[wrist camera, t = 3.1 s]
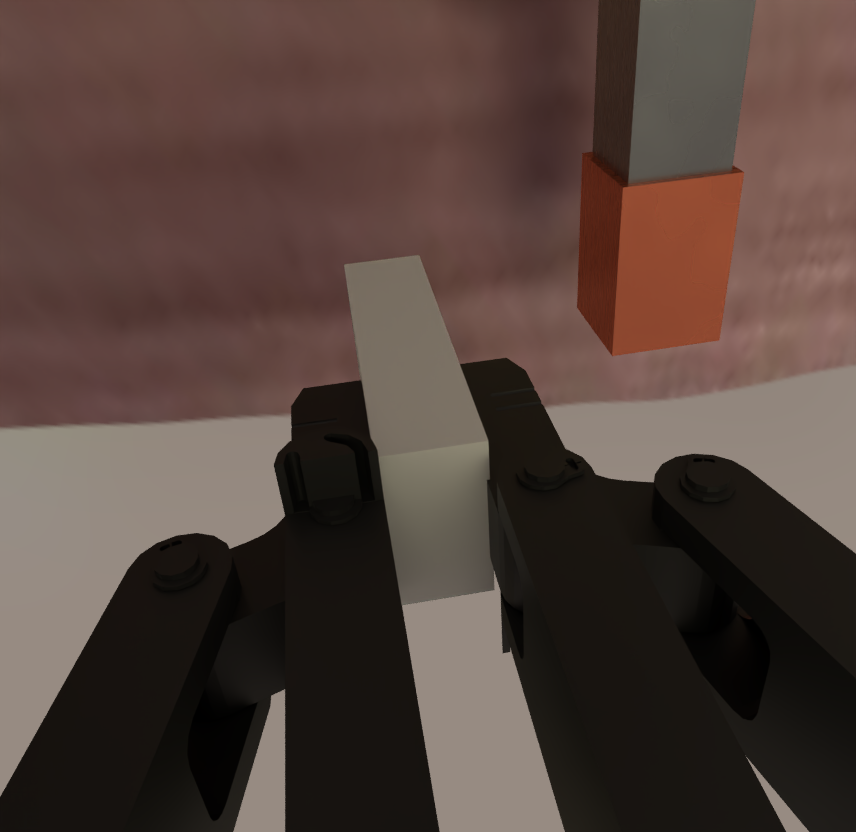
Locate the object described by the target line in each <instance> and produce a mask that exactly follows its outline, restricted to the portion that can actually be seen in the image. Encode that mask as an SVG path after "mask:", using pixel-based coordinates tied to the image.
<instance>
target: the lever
mask: <svg viewBox="0 0 856 832" xmlns="http://www.w3.org/2000/svg"><path fill="white" fill-rule="evenodd" d="M755 1H756V0H599V11H598V35H597V59H596V83H595V107H594V131H593V152H588V153H582V182H581V211H580V240H579V269H578V298H577V308H578V309H579V311H580V312H581V314H582V315H583V316H584V318H585V319H586V320H587V322H588V323H589V325H590V326H591V327H592V329H593V330H594V332H595V333H596V334H597V336H598V337H599V338H600V340H601V341H602V343H603V344H604V345H605V347H606V348H607V349H608V351H609V352H610V354H611V355H612V356H615V355H622V354H629V353H636V352H643V351H649V350H656V349H663V348H670V347H677V346H683V345H690V344H697V343H704V342H711V341H718V340H719V338H720V332H721V325H722V318H723V311H724V305H725V298H726V291H727V284H728V278H729V271H730V264H731V257H732V251H733V244H734V237H735V231H736V224H737V217H738V210H739V204H740V197H741V190H742V183H743V177H744V172H743V171H741V170H740V169H738V168H736V167H735V166H733V159H734V152H735V144H736V137H737V130H738V123H739V116H740V109H741V101H742V94H743V87H744V80H745V73H746V66H747V58H748V51H749V44H750V37H751V30H752V23H753V15H754V8H755Z"/></svg>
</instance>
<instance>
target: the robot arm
mask: <svg viewBox="0 0 856 832" xmlns="http://www.w3.org/2000/svg"><path fill="white" fill-rule="evenodd" d="M344 268H345V275H346V282H347V289H348V296H349V303H350V311H351V318H352V325H353V332H354V339H355V346H356V353H357V360H358V367H359V374H360V381H353V382H345V383H338V384H331V385H324V386H317V387H310V388H303V390H302V391H301V393H300V394H299V396H298V397H297V399H296V400H295V402H294V403H293V404H292V406H291V425H292V430H291V433H292V441H290V442H289V443H288V444H287V445H286V446H285V447H284V448H283V449H282V450H281V451H280V452H279V453H278V454H277V457H276V460H275V463H274V468H275V472H276V476H277V481H278V486H279V490H280V495H281V499H282V503H283V508H284V512H285V517H284V518H283V519H282V520H281V521H280V522H279V523H278V524H277V526H275V527H274V528H272V529H271V530H270V531H268V532H267V533H265V534H264V535H262V536H260V537H258V538H255V539H253V540H251V541H249V542H247V543H244V544H241V545H239V546H236V547H234V548H231V549H229V547H228V545H227V543H225V542H223V541H222V540H220V539H218V538H217V537H215V536H212V535H205V534H199V533H194V534H187V535H178V536H175V537H172V538H170V539H167V540H164V541H161V542H159V543H156V544H155V545H153V546H152V547H151V548H149V549H148V550H146V551H145V552H143V553H142V554H140V555H139V557H138V558H137V559H136V560H135V561H134V563H133V564H132V565H131V566H130V567H129V569H128V570H127V572H126V574H125V576H124V578H123V579H122V581H121V583H120V584H119V586H118V588H117V590H116V592H115V593H114V595H113V597H112V599H111V600H110V603H109V604H108V606H107V608H106V609H105V611H104V613H103V615H102V616H101V618H100V620H99V622H98V624H97V625H96V627H95V629H94V631H93V633H92V635H91V636H90V638H89V640H88V642H87V643H86V645H85V647H84V649H83V650H82V652H81V654H80V656H79V657H78V659H77V661H76V663H75V665H74V667H73V668H72V670H71V672H70V674H69V675H68V677H67V679H66V681H65V683H64V684H63V686H62V688H61V690H60V691H59V693H58V695H57V697H56V698H55V700H54V702H53V704H52V706H51V707H50V709H49V711H48V713H47V715H46V716H45V718H44V720H43V722H42V723H41V725H40V727H39V729H38V731H37V733H36V734H35V736H34V738H33V740H32V741H31V743H30V745H29V747H28V749H27V750H26V752H25V754H24V756H23V757H22V759H21V761H20V763H19V764H18V766H17V768H16V770H15V772H14V773H13V775H12V777H11V779H10V781H9V782H8V784H7V786H6V788H5V789H4V791H3V793H2V795H1V797H0V832H233V831H234V827H235V824H236V820H237V817H238V814H239V810H240V807H241V803H242V800H243V797H244V793H245V790H246V787H247V783H248V780H249V776H250V773H251V770H252V766H253V763H254V759H255V756H256V753H257V749H258V746H259V742H260V739H261V736H262V732H263V729H264V726H265V722H266V719H267V715H268V712H269V709H270V703H271V695H273V694H275V693H278V692H280V691H282V690H284V689H285V797H286V798H285V801H286V802H285V832H439V826H438V820H437V814H436V808H435V802H434V796H433V790H432V784H431V778H430V773H429V766H428V760H427V754H426V748H425V742H424V736H423V730H422V724H421V719H420V712H419V706H418V700H417V694H416V688H415V682H414V676H413V670H412V664H411V658H410V652H409V646H408V640H407V634H406V628H405V622H404V616H403V610H402V605H406V604H412V603H418V602H424V601H430V600H436V599H442V598H448V597H454V596H460V595H467V594H473V593H479V592H485V591H491V590H494V571H495V574H496V577H497V581H498V584H499V587H500V590H501V617H502V646H503V653H506V652H510V648H511V651H512V654H513V658H514V661H515V665H516V668H517V671H518V674H519V678H520V681H521V684H522V688H523V692H524V695H525V698H526V702H527V705H528V709H529V712H530V715H531V719H532V722H533V725H534V729H535V732H536V736H537V739H538V742H539V745H540V749H541V753H542V756H543V759H544V763H545V766H546V769H547V772H548V776H549V780H550V783H551V786H552V790H553V793H554V796H555V800H556V803H557V806H558V810H559V813H560V817H561V820H562V824H563V827H564V830H565V832H786V831H785V829H784V827H783V825H782V823H781V822H780V819H779V818H778V816H777V814H776V812H775V810H774V808H773V806H772V805H771V803H770V801H769V799H768V797H767V795H766V793H765V791H764V789H763V788H762V786H761V784H760V782H759V780H758V778H757V777H756V774H755V773H754V771H753V769H752V767H751V765H750V763H749V762H748V759H749V760H750V761H751V763H752V764H753V765H754V766H755V767H756V769H757V770H758V771H759V772H760V773H761V775H762V776H763V777H764V778H765V779H766V780H767V782H768V783H769V784H770V785H771V786H772V788H773V789H774V790H775V791H776V792H777V794H778V795H779V796H780V797H781V798H782V800H783V801H784V802H785V803H786V804H787V806H788V807H789V808H790V809H791V810H792V812H793V813H794V814H795V815H796V816H797V818H798V819H799V820H800V821H801V822H802V824H803V825H804V826H805V827H806V828H807V830H808V831H809V832H856V554H855V553H854V552H853V551H852V550H850V549H849V548H848V547H846V546H845V545H844V544H843V543H841V542H840V541H839V540H837V539H836V538H835V537H834V536H832V535H831V534H830V533H829V532H827V531H826V530H825V529H823V528H822V527H821V526H820V525H818V524H817V523H816V522H814V521H813V520H811V518H809V517H808V516H807V515H806V514H804V513H803V512H802V511H800V510H799V509H798V508H796V507H795V506H794V505H793V504H791V503H790V502H788V501H787V500H786V499H785V498H784V497H782V496H781V495H780V494H778V493H777V492H776V491H775V490H773V489H772V488H771V487H770V486H768V485H767V484H766V483H765V482H763V481H762V480H761V479H759V478H758V477H757V476H756V475H754V474H753V473H752V472H751V471H749V470H748V469H746V468H744V467H743V466H741V465H739V464H737V463H736V462H734V461H732V460H729V459H725V458H721V457H718V456H714V455H703V454H690V455H685V456H679V457H675V458H673V459H671V460H669V461H667V462H665V463H663V464H662V465H661V466H660V468H659V469H658V471H657V472H656V474H655V479H654V483H653V482H636V481H623V480H615V479H608V478H605V477H601V476H598V475H595V473H594V471H593V469H592V467H591V466H590V465H589V464H588V463H587V462H586V461H585V460H584V458H583V457H581V456H579V455H577V454H575V453H573V452H571V451H569V450H566V449H565V447H564V445H563V443H562V441H561V440H560V437H559V435H558V433H557V431H556V430H555V428H554V426H553V424H552V422H551V420H550V418H549V416H548V414H547V412H546V410H545V408H544V406H543V405H542V404H541V400H540V398H539V396H538V394H537V392H536V391H535V390H534V386H533V384H532V382H531V380H530V378H529V376H528V374H527V373H526V371H525V370H524V369H522V368H521V367H519V366H518V365H516V364H515V363H513V362H512V361H510V360H509V359H507V358H502V359H494V360H487V361H480V362H473V363H466V364H459V361H458V358H457V356H456V353H455V350H454V347H453V345H452V342H451V339H450V337H449V334H448V331H447V329H446V326H445V323H444V321H443V318H442V315H441V313H440V310H439V307H438V305H437V302H436V299H435V297H434V294H433V291H432V289H431V286H430V283H429V280H428V278H427V275H426V272H425V270H424V267H423V264H422V262H421V259H420V256H419V255H415V256H407V257H399V258H391V259H383V260H376V261H368V262H360V263H352V264H344ZM745 755H746V756H745ZM746 757H747V758H748V759H747V758H746Z"/></svg>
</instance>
